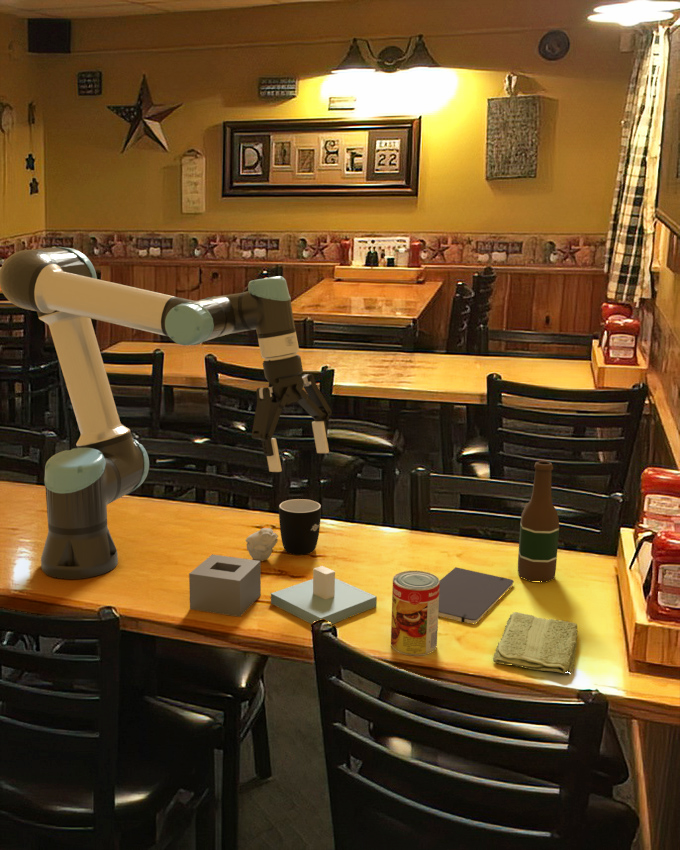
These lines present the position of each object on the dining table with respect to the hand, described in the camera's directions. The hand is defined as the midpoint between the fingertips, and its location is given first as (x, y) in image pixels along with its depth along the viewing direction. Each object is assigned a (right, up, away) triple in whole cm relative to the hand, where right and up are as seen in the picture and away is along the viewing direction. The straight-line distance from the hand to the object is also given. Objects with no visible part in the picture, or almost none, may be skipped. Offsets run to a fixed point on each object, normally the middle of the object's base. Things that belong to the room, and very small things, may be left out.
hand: (300, 461), depth 185 cm
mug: (0, -20, +18) cm, 26 cm away
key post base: (+5, -26, -11) cm, 29 cm away
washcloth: (+42, -31, -26) cm, 58 cm away
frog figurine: (-8, -21, +11) cm, 25 cm away
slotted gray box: (-13, -26, -10) cm, 31 cm away
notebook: (+32, -26, -6) cm, 42 cm away
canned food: (+21, -30, -25) cm, 45 cm away
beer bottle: (+48, -24, +5) cm, 54 cm away
